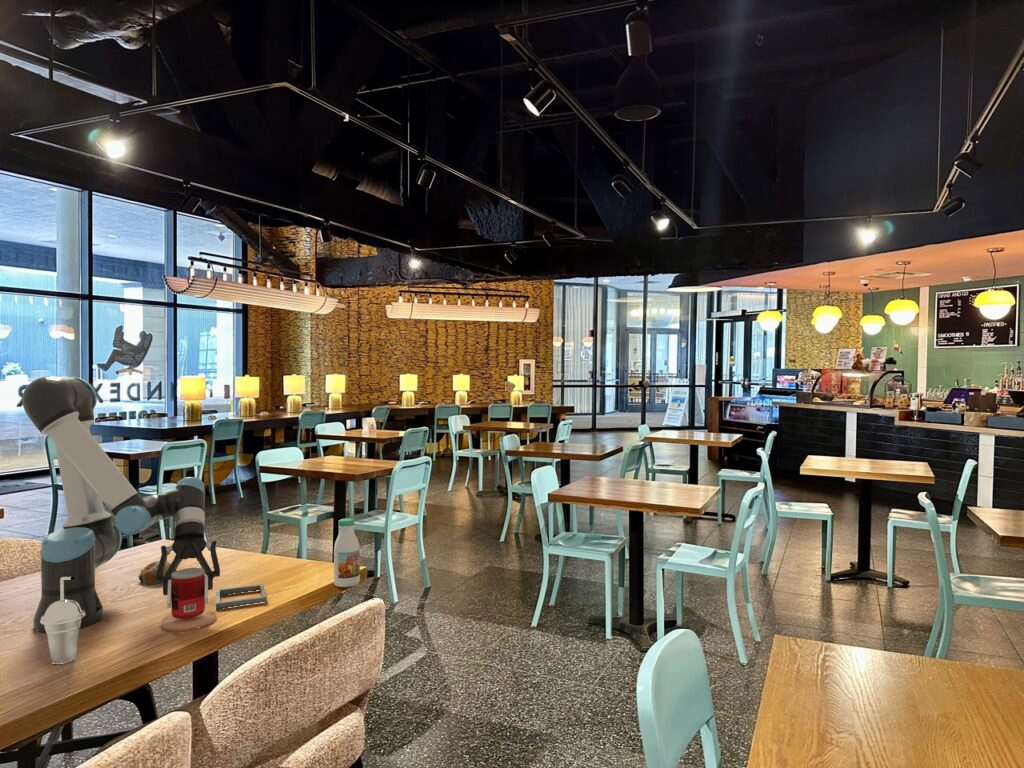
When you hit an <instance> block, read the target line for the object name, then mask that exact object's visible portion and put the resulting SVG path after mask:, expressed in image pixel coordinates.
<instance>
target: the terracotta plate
mask: <svg viewBox="0 0 1024 768" xmlns="http://www.w3.org/2000/svg"><path fill="white" fill-rule="evenodd" d="M215 618H216V619H217V613H216V611H214V610H211V609H207V608H205V609H204V612H203V613H202V614H200V615H198V616H195V617H192V618H185V619H178V618H174V617H173V616H172V613H171V614H169V615H167V616H165V617H163V618H162V619H161V620H160V628H161V629H162V630H164V631H169V632H185V631H192V629H193V630H197V629H199V628H198V627H201V628H203V627H202V626H204V625H207V624H209V623H211V622H212V621H214V620H215V621H216V619H215ZM215 621H214V622H215ZM212 623H213V622H212ZM212 623H211V624H212ZM209 625H210V624H209ZM207 626H208V625H207ZM204 627H205V626H204ZM196 628H197V629H196Z"/></svg>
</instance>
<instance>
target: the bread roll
mask: <svg viewBox="0 0 1024 768" xmlns="http://www.w3.org/2000/svg"><path fill="white" fill-rule="evenodd" d="M159 562H160V560H157V561H153V562H151V563H149V564H147V565H146V566H145V567H143V569H142V570H140V573H139V574H138V575H137V578H138V580H139V581H140V583H141V584H142V583H143V585H146V584H147V585H146V586H152V585H163V584H162V583H156V573H157V570H158V566H159ZM171 563H172V562H169V561H168V560H167V561H166V565H165V569H164V573H163V576H165V574H166V572H167V571H168V569H169V567H170V565H171ZM176 571H178V570H177V569H176Z"/></svg>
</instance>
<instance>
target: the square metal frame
mask: <svg viewBox="0 0 1024 768" xmlns="http://www.w3.org/2000/svg"><path fill="white" fill-rule="evenodd" d="M256 590H260V591H259V593H260V592H261V594H260V596H256V597H249V598H248V597H247V598H241V599H234V600H225V601H221V597H222V596H221V595H227V596H229V595H228V594H233V593H241V592H248V591H256ZM260 602H266V603H267V594H266V589H265V585H264V583H260V584H259V583H258V584H252V585H243V586H233V587H227V588H220V589H215V611H218V610H217V609H222V610H224V609H223V608H228V607H234V606H240V605H246V604H254V603H260Z"/></svg>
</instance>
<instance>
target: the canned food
mask: <svg viewBox="0 0 1024 768" xmlns="http://www.w3.org/2000/svg"><path fill="white" fill-rule="evenodd" d="M205 576H206V574H205V570H204V569H202V567H187V568H182V569H181V568H180V569H178V570H177V571H175V572H173V573H172V576H171V614H172V616H173V617H174V618H178V619H185V618H192V617H195V616H198V615H200V614H202V613H203V612H204V609H206V603H205Z"/></svg>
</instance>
